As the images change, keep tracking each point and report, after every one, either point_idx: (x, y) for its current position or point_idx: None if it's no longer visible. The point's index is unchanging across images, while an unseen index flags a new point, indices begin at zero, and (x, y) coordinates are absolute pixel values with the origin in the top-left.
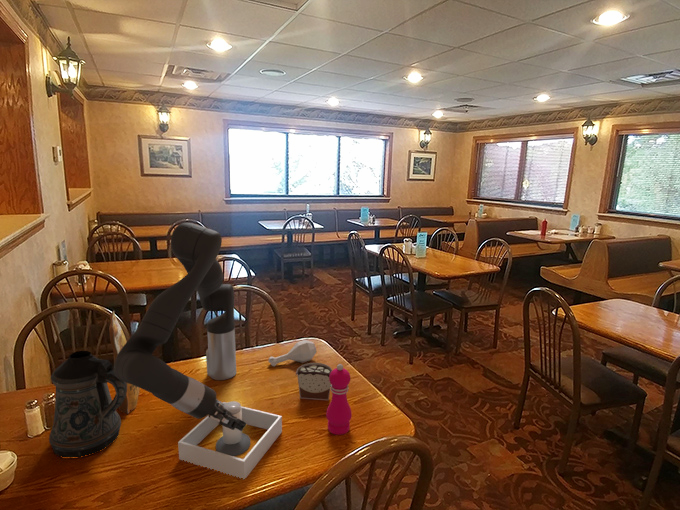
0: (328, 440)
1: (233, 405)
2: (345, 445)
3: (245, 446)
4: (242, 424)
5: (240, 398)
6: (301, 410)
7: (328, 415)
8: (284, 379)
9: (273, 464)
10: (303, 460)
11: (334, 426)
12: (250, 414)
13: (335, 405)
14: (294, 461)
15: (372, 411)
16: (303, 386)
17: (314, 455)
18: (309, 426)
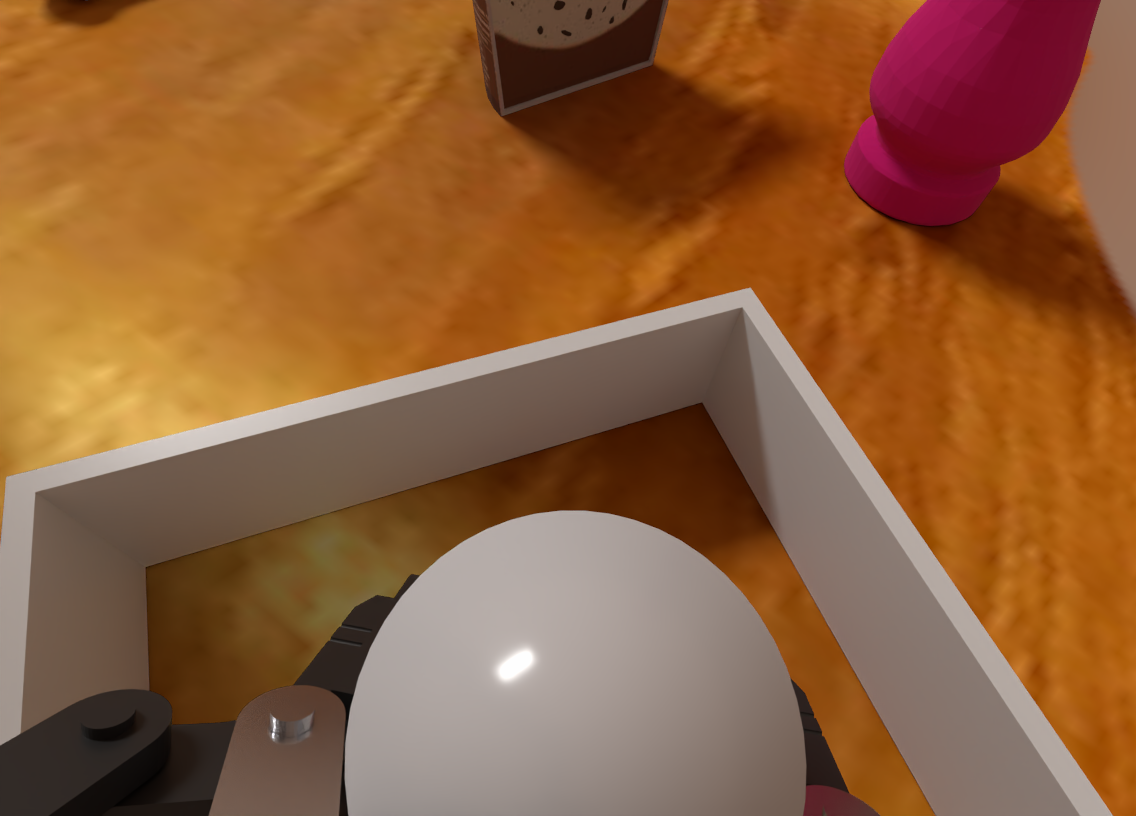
0: (982, 277)
1: (584, 663)
2: (1077, 256)
3: None
4: (811, 727)
5: (89, 307)
6: (609, 181)
7: (979, 120)
8: (260, 48)
9: (1030, 689)
10: (1095, 497)
11: (962, 180)
12: (436, 420)
13: (1068, 15)
14: (1076, 547)
15: (888, 35)
16: (519, 17)
17: (1079, 417)
18: (786, 252)
